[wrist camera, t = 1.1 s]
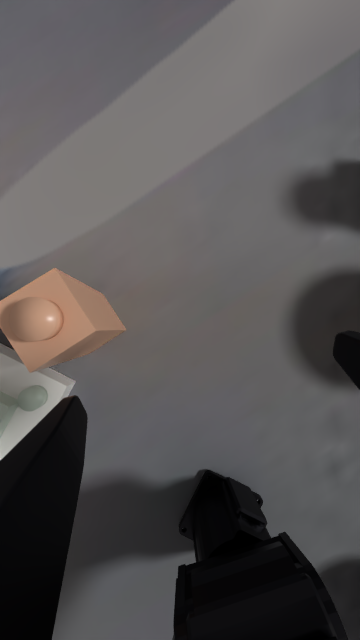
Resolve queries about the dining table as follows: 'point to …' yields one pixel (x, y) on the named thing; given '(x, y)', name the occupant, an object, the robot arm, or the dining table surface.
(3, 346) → the base plate
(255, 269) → the dining table surface
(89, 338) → the tall brick
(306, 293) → the dining table surface
